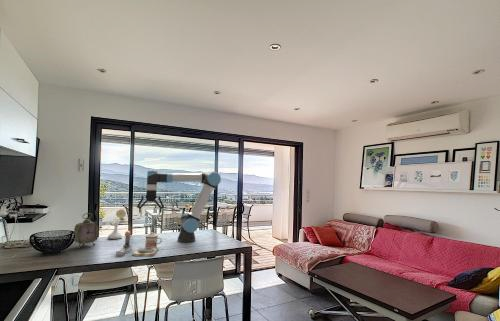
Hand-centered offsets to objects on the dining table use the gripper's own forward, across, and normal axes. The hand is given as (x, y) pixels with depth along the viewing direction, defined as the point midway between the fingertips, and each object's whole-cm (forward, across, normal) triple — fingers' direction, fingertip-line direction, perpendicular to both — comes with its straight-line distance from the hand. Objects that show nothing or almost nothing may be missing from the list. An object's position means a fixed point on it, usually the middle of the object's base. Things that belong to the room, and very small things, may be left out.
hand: (150, 216), depth 206 cm
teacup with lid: (+23, -4, +2) cm, 24 cm away
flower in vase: (+23, +31, -27) cm, 47 cm away
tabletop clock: (+23, +46, -2) cm, 51 cm away
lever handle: (+20, +13, +11) cm, 26 cm away
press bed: (+23, -1, +17) cm, 29 cm away
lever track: (+23, +14, +16) cm, 31 cm away
